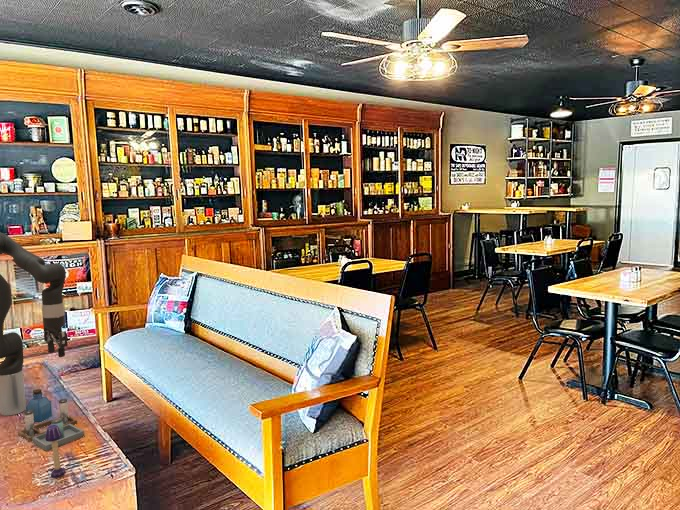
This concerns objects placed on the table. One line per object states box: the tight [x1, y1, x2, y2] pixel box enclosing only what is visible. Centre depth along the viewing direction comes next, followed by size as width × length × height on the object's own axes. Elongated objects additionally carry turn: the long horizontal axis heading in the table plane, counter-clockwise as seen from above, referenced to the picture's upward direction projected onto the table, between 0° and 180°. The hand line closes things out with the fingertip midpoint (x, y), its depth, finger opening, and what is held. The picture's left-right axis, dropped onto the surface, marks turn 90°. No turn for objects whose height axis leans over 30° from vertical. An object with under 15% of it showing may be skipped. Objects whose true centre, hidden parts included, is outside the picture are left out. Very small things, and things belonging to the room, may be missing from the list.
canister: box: [58, 398, 70, 424], centre depth 202 cm, size 3×3×10 cm
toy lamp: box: [45, 424, 67, 479], centre depth 164 cm, size 5×5×17 cm
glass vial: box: [23, 410, 36, 437], centre depth 192 cm, size 3×3×10 cm
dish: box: [32, 424, 85, 452], centre depth 189 cm, size 11×14×2 cm
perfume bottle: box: [25, 388, 53, 423], centre depth 206 cm, size 6×6×12 cm
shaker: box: [50, 417, 64, 440], centre depth 188 cm, size 4×4×7 cm
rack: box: [17, 416, 78, 443], centre depth 197 cm, size 9×18×2 cm, turn 144°
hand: (56, 354), depth 201 cm, fingers open, 8 cm apart
